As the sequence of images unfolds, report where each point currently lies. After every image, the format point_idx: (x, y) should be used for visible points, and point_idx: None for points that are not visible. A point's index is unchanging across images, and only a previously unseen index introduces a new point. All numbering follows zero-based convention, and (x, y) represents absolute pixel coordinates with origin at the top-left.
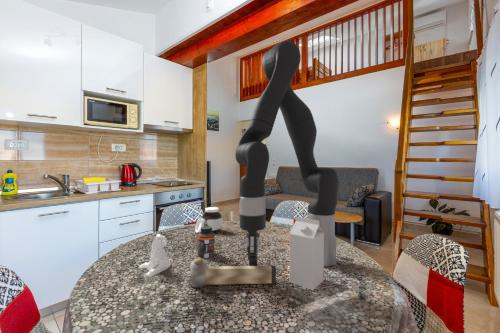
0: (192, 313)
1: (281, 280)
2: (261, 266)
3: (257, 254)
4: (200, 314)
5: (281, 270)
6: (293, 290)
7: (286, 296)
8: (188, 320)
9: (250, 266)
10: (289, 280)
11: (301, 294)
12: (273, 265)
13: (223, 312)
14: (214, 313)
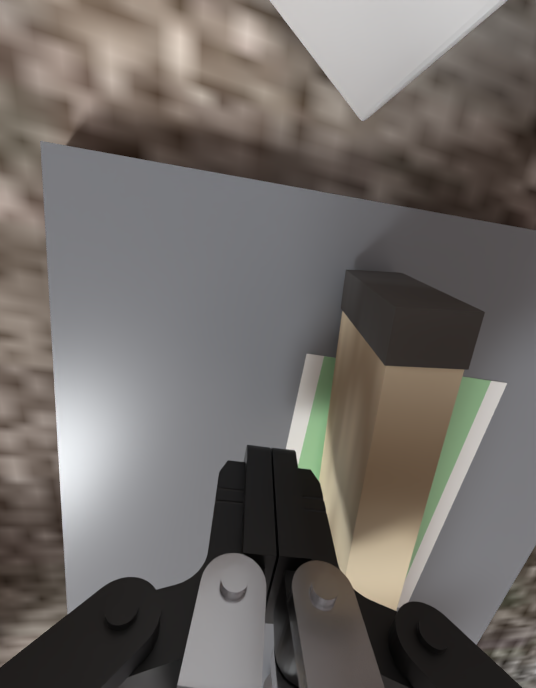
0: (489, 649)
1: (245, 176)
2: (382, 472)
3: (240, 593)
4: (507, 627)
5: (26, 117)
6: (437, 104)
7: (505, 201)
8: (528, 654)
9: (359, 568)
10: (375, 109)
11: (521, 39)
12: (392, 329)
13: (528, 559)
14: (520, 587)
